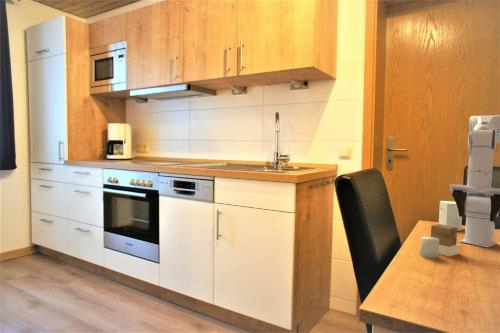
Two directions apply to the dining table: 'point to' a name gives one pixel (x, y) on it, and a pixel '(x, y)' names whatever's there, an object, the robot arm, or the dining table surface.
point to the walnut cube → (444, 234)
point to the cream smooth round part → (429, 247)
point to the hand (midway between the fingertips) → (476, 218)
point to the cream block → (449, 250)
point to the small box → (449, 214)
